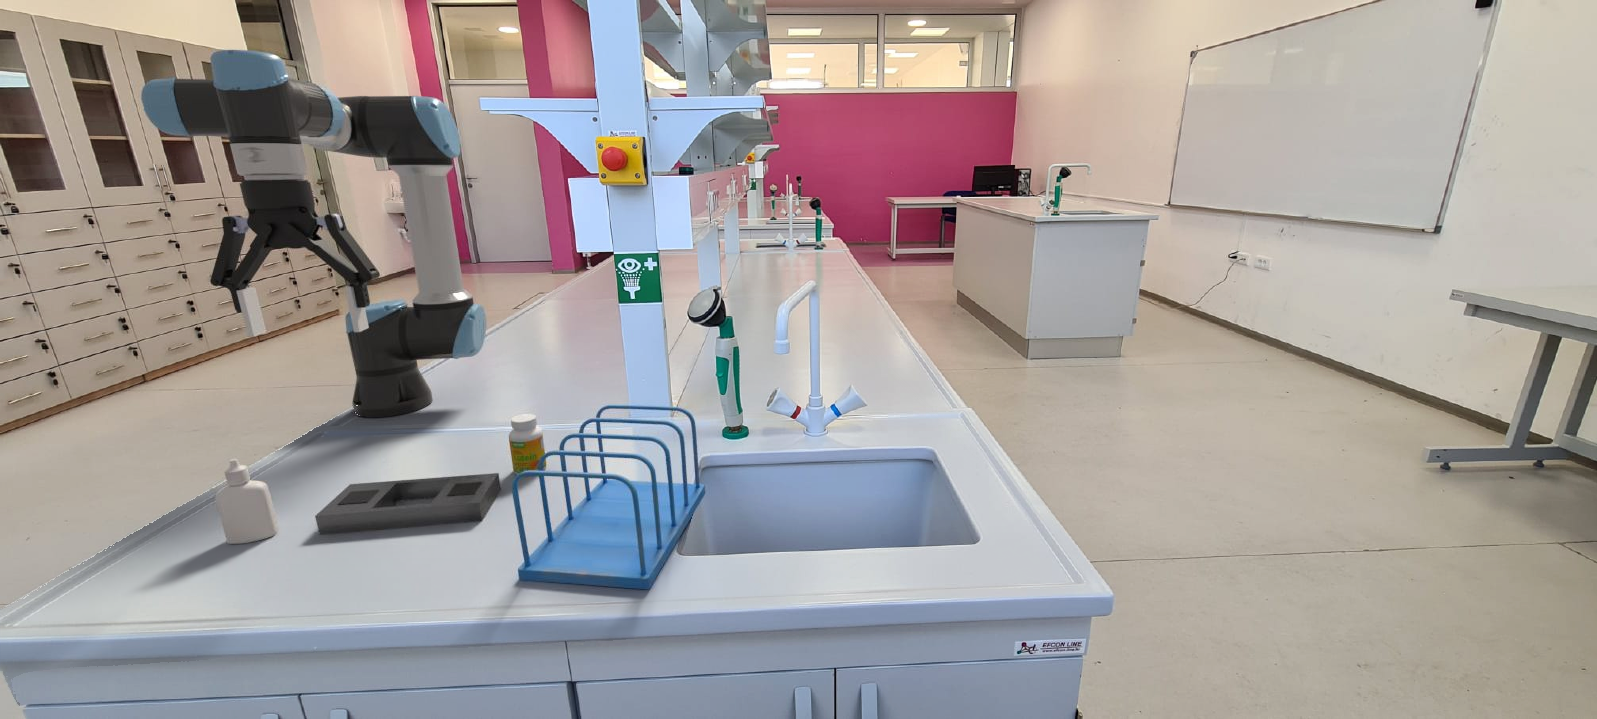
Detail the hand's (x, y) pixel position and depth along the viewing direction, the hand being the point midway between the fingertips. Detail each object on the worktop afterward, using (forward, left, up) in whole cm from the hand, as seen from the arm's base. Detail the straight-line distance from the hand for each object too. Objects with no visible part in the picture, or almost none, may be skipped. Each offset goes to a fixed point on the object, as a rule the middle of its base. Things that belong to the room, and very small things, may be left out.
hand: (310, 332), depth 93 cm
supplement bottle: (-9, +25, -28) cm, 39 cm away
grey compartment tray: (+3, +11, -28) cm, 30 cm away
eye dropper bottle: (+7, -9, -28) cm, 30 cm away
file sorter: (+15, +43, -28) cm, 53 cm away
